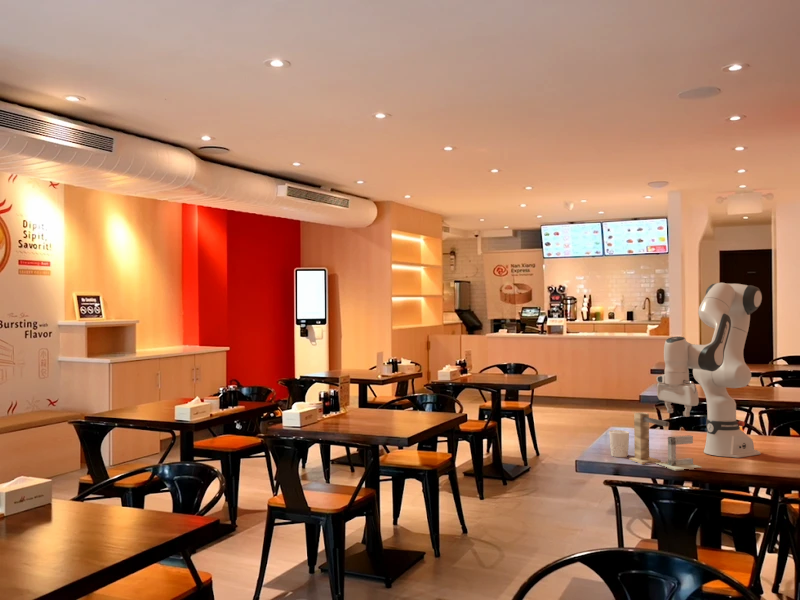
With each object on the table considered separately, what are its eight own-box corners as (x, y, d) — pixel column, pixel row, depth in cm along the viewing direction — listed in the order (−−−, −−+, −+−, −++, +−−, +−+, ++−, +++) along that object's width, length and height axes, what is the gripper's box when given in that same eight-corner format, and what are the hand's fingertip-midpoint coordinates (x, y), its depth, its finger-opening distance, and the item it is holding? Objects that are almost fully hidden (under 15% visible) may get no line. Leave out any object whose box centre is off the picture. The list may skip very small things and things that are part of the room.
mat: (680, 461, 284) (680, 460, 284) (701, 468, 273) (701, 466, 273) (655, 464, 281) (655, 462, 281) (675, 470, 269) (675, 469, 269)
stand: (648, 458, 291) (647, 412, 291) (677, 468, 273) (677, 418, 274) (629, 460, 288) (628, 413, 288) (657, 470, 271) (657, 419, 271)
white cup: (630, 458, 292) (630, 433, 292) (610, 457, 294) (610, 433, 294) (628, 454, 300) (628, 430, 300) (608, 453, 302) (608, 429, 302)
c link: (689, 462, 280) (689, 435, 280) (693, 464, 278) (692, 436, 278) (668, 464, 277) (667, 436, 277) (671, 465, 275) (671, 437, 275)
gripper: (702, 381, 268) (703, 417, 268) (666, 375, 288) (668, 410, 288) (688, 382, 267) (689, 419, 267) (653, 377, 286) (654, 411, 286)
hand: (678, 414), depth 278 cm, fingers open, 8 cm apart
